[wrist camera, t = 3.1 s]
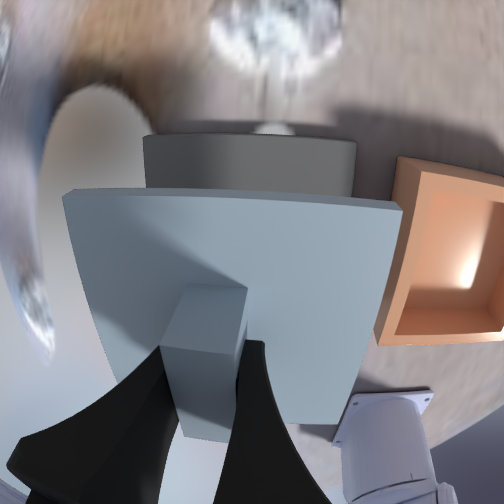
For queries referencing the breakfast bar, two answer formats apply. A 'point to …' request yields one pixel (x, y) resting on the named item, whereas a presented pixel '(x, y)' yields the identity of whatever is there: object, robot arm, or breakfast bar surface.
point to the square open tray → (445, 257)
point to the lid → (235, 291)
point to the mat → (250, 162)
